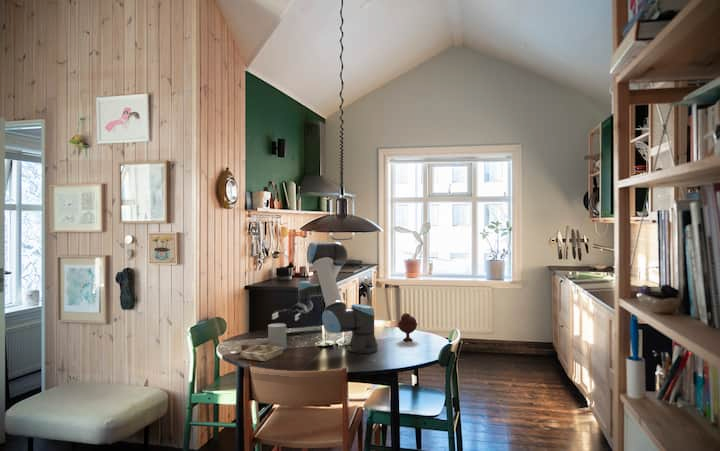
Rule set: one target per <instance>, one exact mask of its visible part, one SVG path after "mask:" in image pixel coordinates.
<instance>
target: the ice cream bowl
mask: <svg viewBox="0 0 720 451" xmlns="http://www.w3.org/2000/svg"><path fill="white" fill-rule="evenodd" d="M397 327H398V328H399V330H400V331H401V332H402V333H404V334H405V335H406V336H405V337H404V338H403V340H402V341H403V342H406V343H409V342H413V341H414V340H413V338H412V337H410V334H411V333H413V332H415V330H416V329H417V327H418V322H417V320H416V317H414V316H411V314H409V313H407V312H405V313H403V314H402V315H401V317H400V320H399V322H398V323H397Z"/></svg>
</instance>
